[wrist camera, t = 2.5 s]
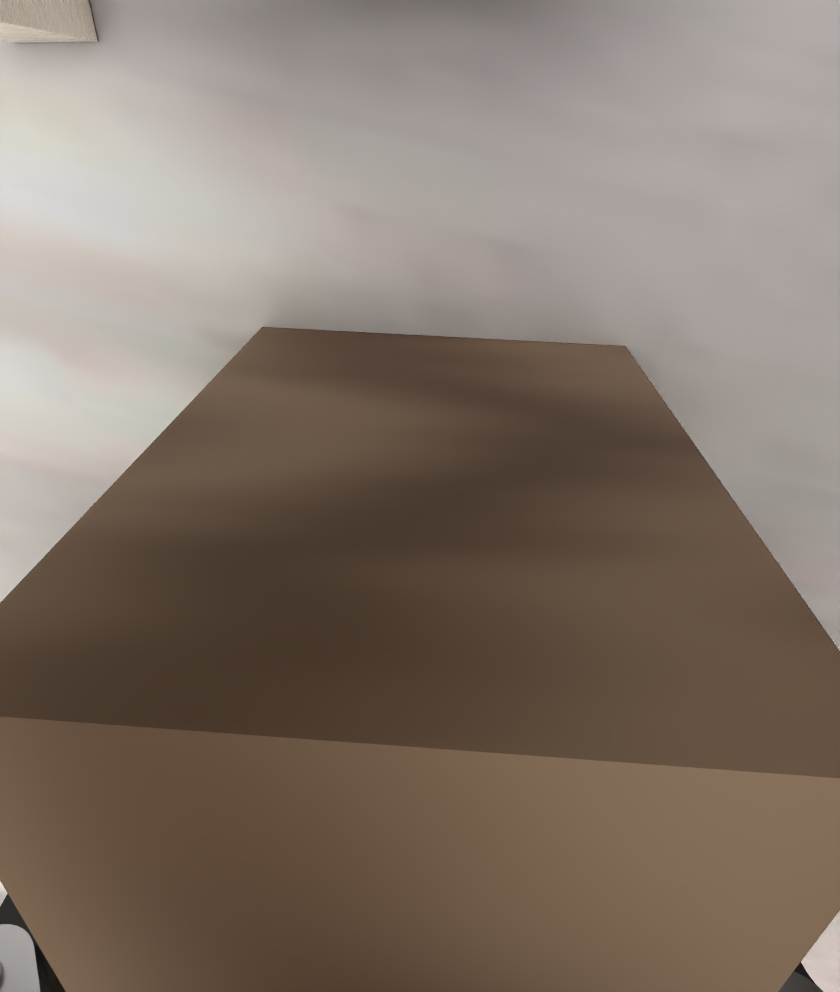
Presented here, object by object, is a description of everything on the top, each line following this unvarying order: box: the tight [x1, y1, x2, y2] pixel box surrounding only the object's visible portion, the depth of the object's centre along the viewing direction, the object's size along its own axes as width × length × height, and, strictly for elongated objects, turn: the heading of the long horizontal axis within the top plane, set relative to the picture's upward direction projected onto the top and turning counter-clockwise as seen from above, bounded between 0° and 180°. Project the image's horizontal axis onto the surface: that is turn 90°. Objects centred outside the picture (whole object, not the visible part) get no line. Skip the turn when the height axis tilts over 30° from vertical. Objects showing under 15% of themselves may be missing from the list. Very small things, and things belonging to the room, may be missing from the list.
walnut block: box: [0, 327, 840, 992], centre depth 11 cm, size 6×14×8 cm, turn 178°
